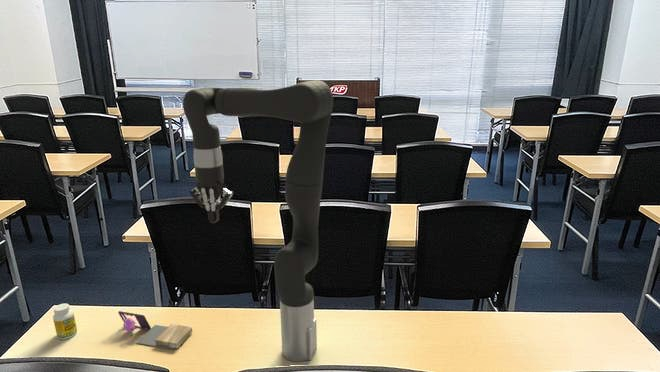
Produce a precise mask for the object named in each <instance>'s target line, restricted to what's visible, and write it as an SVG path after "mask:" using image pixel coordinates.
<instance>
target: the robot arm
mask: <svg viewBox="0 0 660 372" xmlns="http://www.w3.org/2000/svg"><path fill="white" fill-rule="evenodd" d="M333 107H334V96H333V91H332V90H331V88H330V86H329V85H328V84H327V83H326V82H324V81H322V80H318V79H316V80H315V79H313V80H307V81H302V82H298V83H296V84H293V85H290V86H286V87H282V88H277V89H276V88H275V89H258V88H251V87H228V88H227V87H226V88H222V87H203V88H196V89H190V90H188V91H187V92H186V93H185V95H184V96H183V100H182V108H183V112H184V115H185V118H186V120H187V123H188V125H189V129H190V131H191V134H192V145H193V165H194V175H195V180H196V182H195V183H196V184H195V187H194V188H192V189H191V190H189V192H188V193H189V195H190V196H191V197H192V198H193V200H194V201H195V203H197V205H198V206H199V207H200V208H201V209H205V210H206V212H207V220H208V221H209V223H211V224H216V223H217V222H219V220H220V210H222V208H224V207H225V206H226V205H227V203H228V202H229V201H230V199H231V198H232V197H233V195H234V191H232V190H229V189H228V188H226V187H227V186H226V184H225V181H224V180H225V173H224V172H225V171H224V162H223V151H222V149H221V148H222V147H221V136H220V129H219V126H217V125H216V124H213V123H210V122H209V120H208V119H209V118H208V117H207V116H211V115H223V116H227V117H266V118H267V117H269V118H277V119H282V120H286V121H292V122H297V123H299V124H300V125H299V127H300V128H299V133H298V139H297V142H296V145H295V147H294V150H293V151H292V152H293V153H292V154H291V158H290V160H289V161H288V166H287V168H286V169H287V170H286V174H285V185H284V197H285V198H284V199H285V201H286V205H287V207H288V209H289V212H290V214H291V216H292V220H293V222H292V223H293V226H292V227H293V228H292V235H291V240H290V241H289V242H288V244H285V245H284V246H283V247H282V248H281V249H279V250H278V251H277V252H276V253H275V255H274V259H273V269H274V277H275V278H274V279H275V287H276V290H277V293H278V295H279V308H280V310H279V312H280V314H279V315H280V332H281V333H280V335H281V336H280V337H281V351H282V352H281V353H282V356H283V357H284V358H285V359H286V360H288V361H292V362H303V361H312V359H313V356H314V355H315V352H316V350H317V347H318V344H317V343H318V342H317V341H318V338H317V337H318V336H317V334H318V332H317V318H315V308H314V307H315V303H314V302H315V301H314V300H315V299H314V296H315V295H314V293H315V292H314V288H313V285H311V284H310V283H308V282H306V275H307V274H308V273H310V272H311V271H312V270H313V269H314V268H315V267H316V265H317V263H318V260H319V221H320V220H319V219H320V210H321V198H322V191H323V182H324V169H325V168H324V167H325V161H326V160H325V158H326V144H327V139H328V138H327V137H328V133H329V127H330V122H331V117H332V113H333ZM221 195H222V198H221Z"/></svg>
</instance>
